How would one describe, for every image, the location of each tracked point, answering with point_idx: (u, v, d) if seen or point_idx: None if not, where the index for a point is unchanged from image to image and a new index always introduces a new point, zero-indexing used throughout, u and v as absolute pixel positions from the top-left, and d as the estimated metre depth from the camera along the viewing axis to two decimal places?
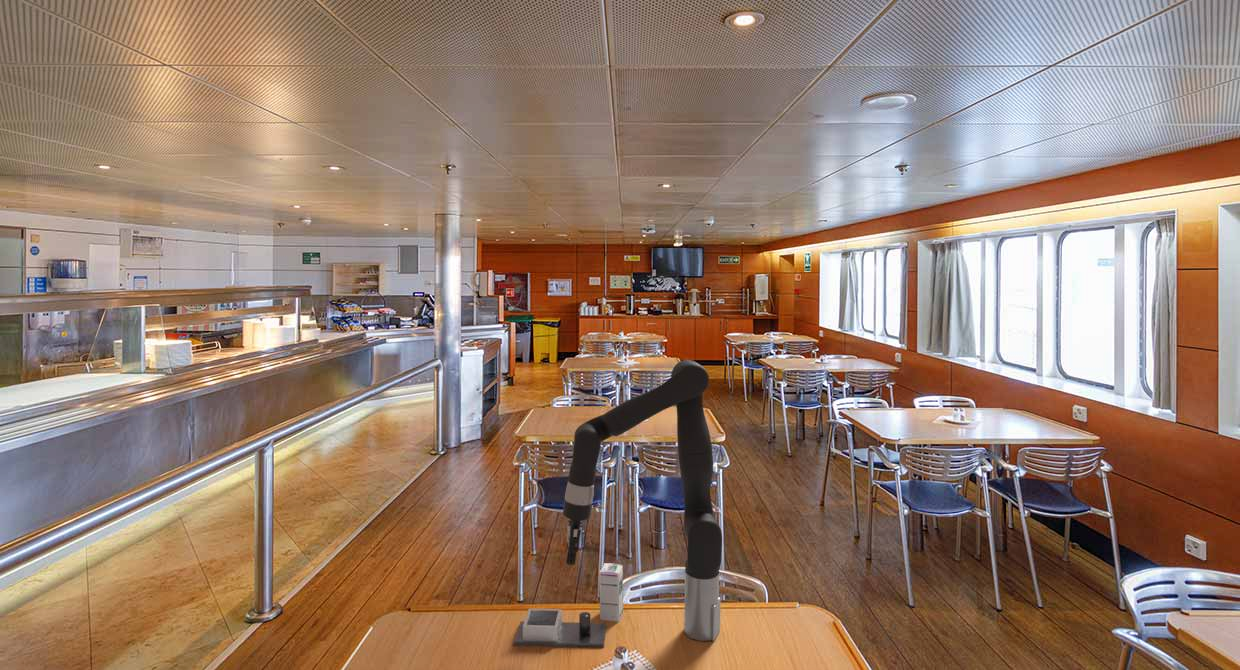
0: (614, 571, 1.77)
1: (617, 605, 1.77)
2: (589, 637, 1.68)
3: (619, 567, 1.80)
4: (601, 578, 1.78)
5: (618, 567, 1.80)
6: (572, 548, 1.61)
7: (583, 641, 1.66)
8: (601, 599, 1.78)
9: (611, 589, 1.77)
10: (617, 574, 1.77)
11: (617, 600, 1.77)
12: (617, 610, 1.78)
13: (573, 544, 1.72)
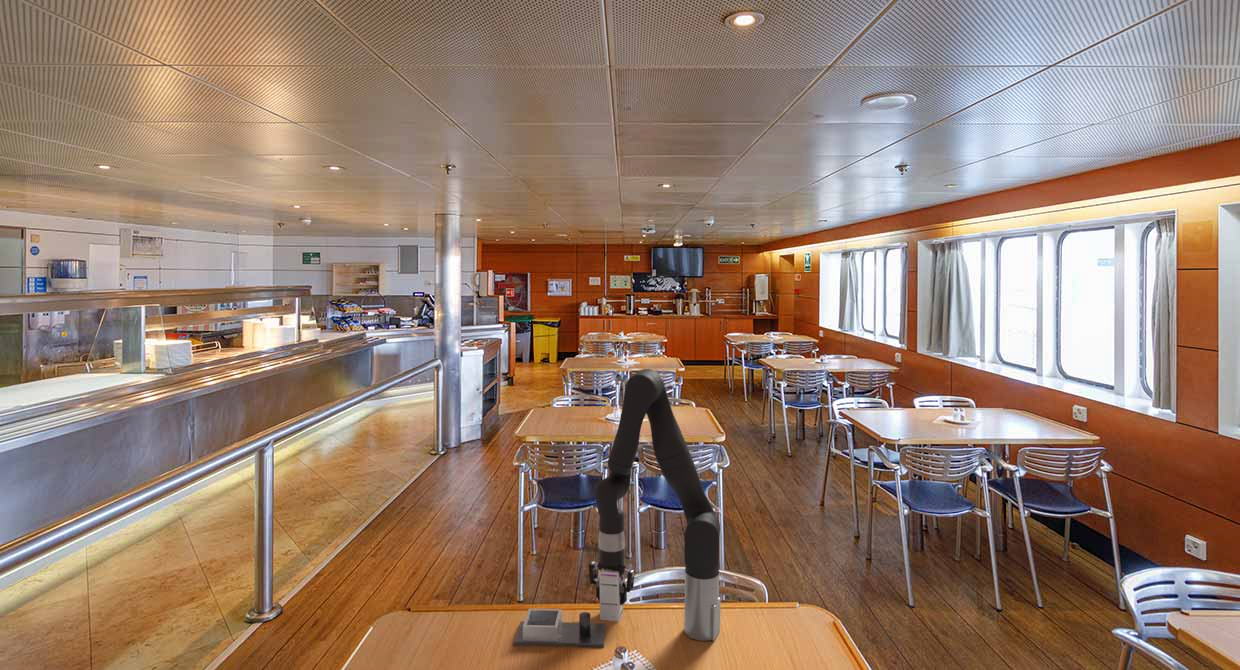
0: (614, 571, 1.77)
1: (617, 605, 1.77)
2: (589, 637, 1.68)
3: None
4: (601, 578, 1.78)
5: None
6: (630, 588, 1.77)
7: (583, 641, 1.66)
8: (601, 599, 1.78)
9: (611, 589, 1.77)
10: (617, 574, 1.77)
11: (617, 600, 1.77)
12: (617, 610, 1.78)
13: None
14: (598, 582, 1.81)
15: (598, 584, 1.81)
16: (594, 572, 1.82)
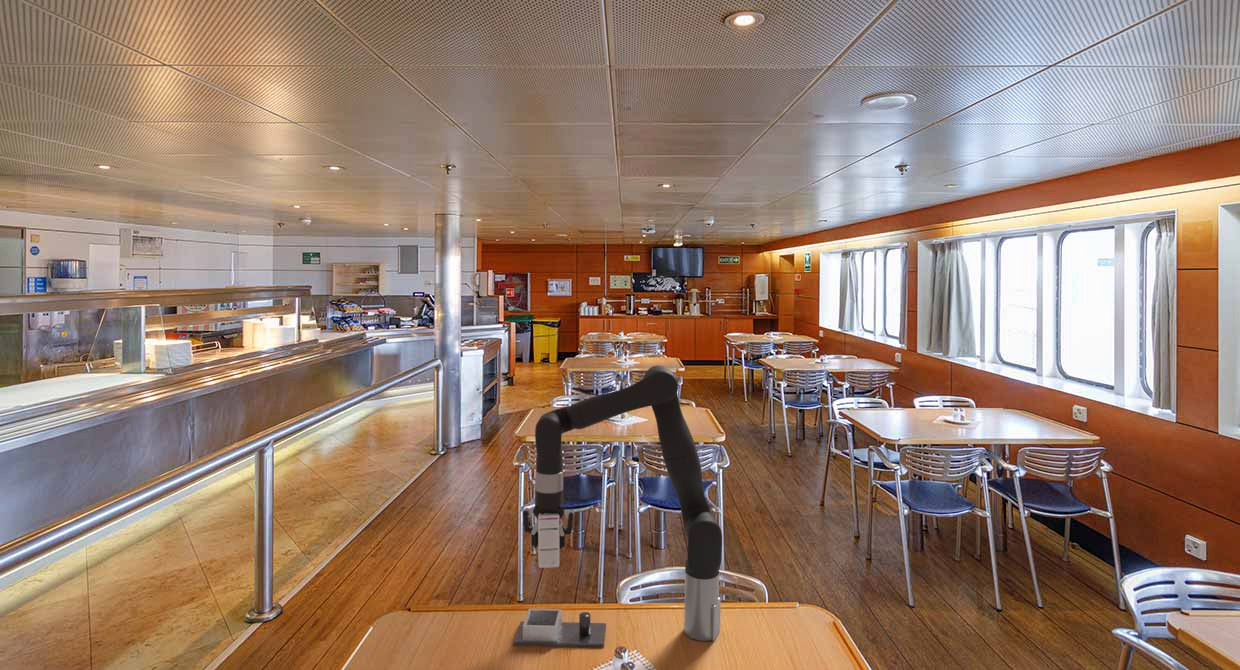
0: (554, 514, 1.67)
1: (557, 549, 1.68)
2: (589, 637, 1.68)
3: None
4: (540, 523, 1.66)
5: None
6: None
7: (583, 641, 1.66)
8: (540, 545, 1.67)
9: (551, 533, 1.67)
10: (558, 516, 1.67)
11: (557, 544, 1.68)
12: (557, 555, 1.68)
13: (537, 539, 1.71)
14: (534, 529, 1.69)
15: (534, 531, 1.69)
16: (528, 519, 1.70)
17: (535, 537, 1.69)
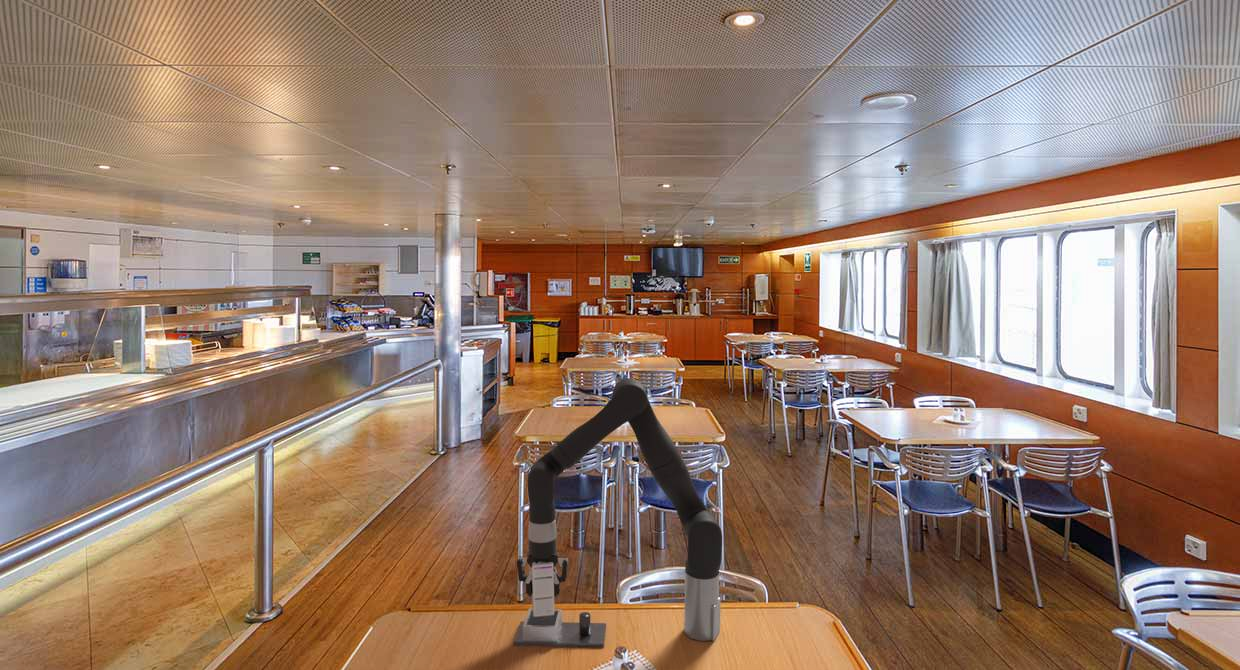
0: (548, 563, 1.67)
1: (552, 598, 1.68)
2: (589, 637, 1.68)
3: None
4: (535, 572, 1.66)
5: None
6: (565, 577, 1.69)
7: (583, 641, 1.66)
8: (535, 595, 1.67)
9: (546, 582, 1.67)
10: (552, 565, 1.67)
11: (552, 592, 1.68)
12: (552, 603, 1.68)
13: (531, 587, 1.70)
14: (528, 578, 1.68)
15: (528, 580, 1.68)
16: (522, 568, 1.69)
17: (529, 586, 1.69)
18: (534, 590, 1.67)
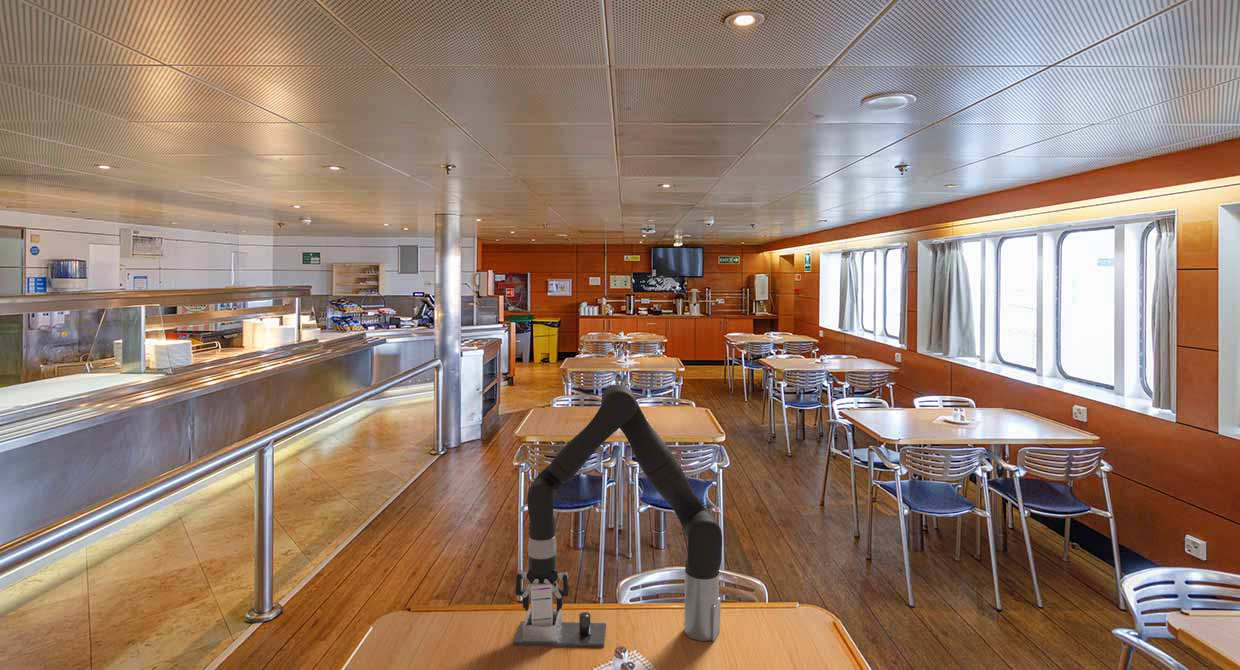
0: (547, 584, 1.68)
1: (551, 619, 1.68)
2: (589, 637, 1.68)
3: None
4: (533, 593, 1.67)
5: None
6: (567, 591, 1.69)
7: (583, 641, 1.66)
8: (533, 615, 1.67)
9: (544, 603, 1.68)
10: (550, 586, 1.68)
11: (551, 613, 1.68)
12: (551, 624, 1.68)
13: (528, 601, 1.71)
14: (525, 592, 1.69)
15: (525, 594, 1.69)
16: (521, 582, 1.70)
17: (526, 600, 1.69)
18: (533, 611, 1.67)
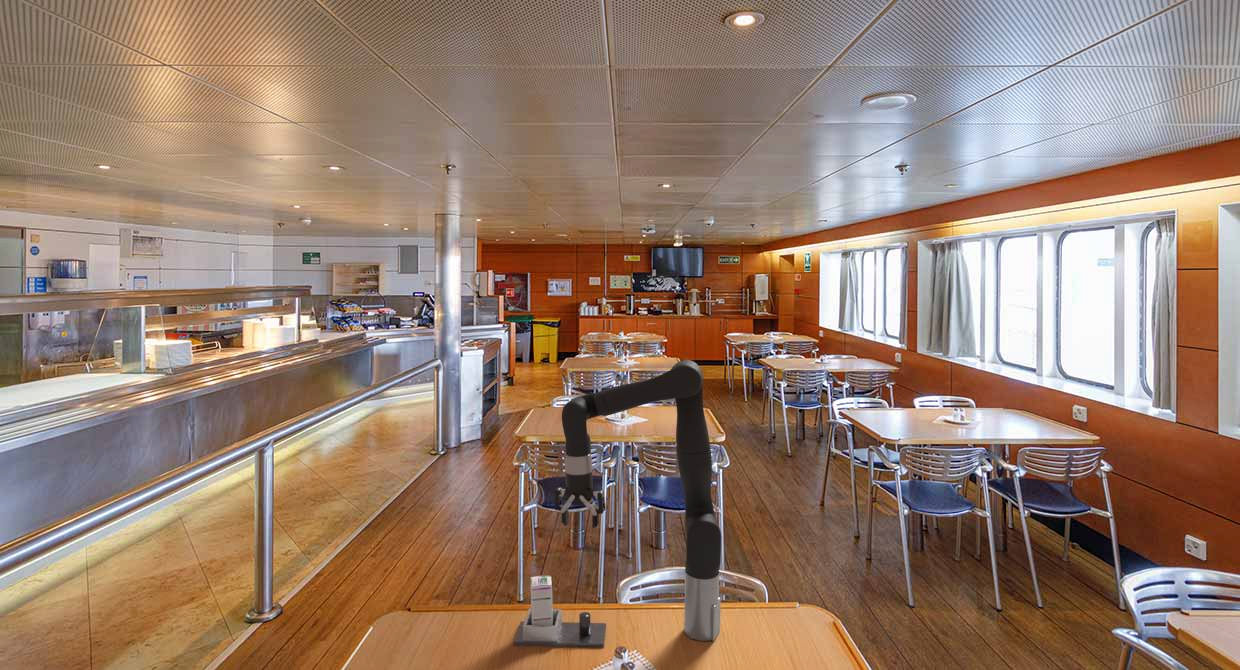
0: (547, 584, 1.68)
1: (551, 619, 1.68)
2: (589, 637, 1.68)
3: (549, 578, 1.71)
4: (533, 593, 1.67)
5: (548, 579, 1.71)
6: (603, 509, 1.74)
7: (583, 641, 1.66)
8: (533, 615, 1.67)
9: (544, 603, 1.68)
10: (550, 586, 1.68)
11: (551, 613, 1.68)
12: (551, 624, 1.68)
13: (567, 517, 1.78)
14: (563, 507, 1.76)
15: (563, 509, 1.76)
16: (560, 498, 1.77)
17: (565, 515, 1.76)
18: (532, 611, 1.67)
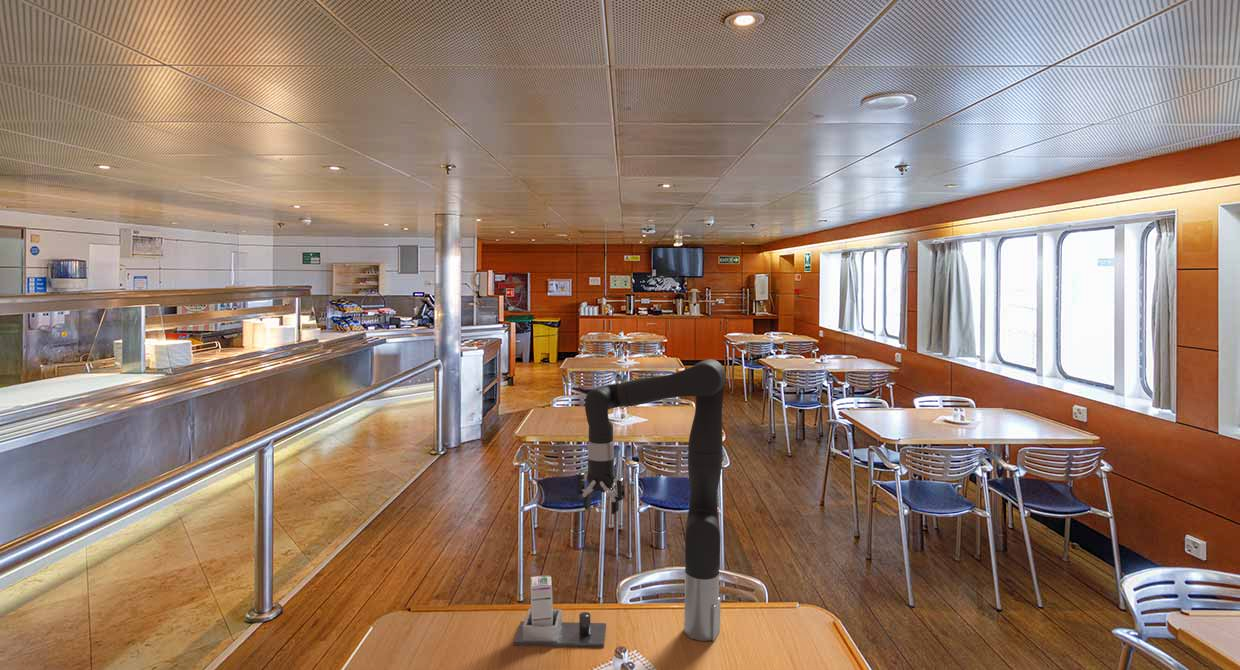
0: (547, 584, 1.68)
1: (551, 619, 1.68)
2: (589, 637, 1.68)
3: (549, 578, 1.71)
4: (533, 593, 1.67)
5: (548, 579, 1.71)
6: (622, 496, 1.78)
7: (583, 641, 1.66)
8: (533, 615, 1.67)
9: (544, 603, 1.68)
10: (550, 586, 1.68)
11: (551, 613, 1.68)
12: (551, 624, 1.68)
13: (589, 502, 1.83)
14: (585, 492, 1.81)
15: (585, 494, 1.81)
16: (582, 483, 1.83)
17: (586, 499, 1.82)
18: (532, 611, 1.67)
